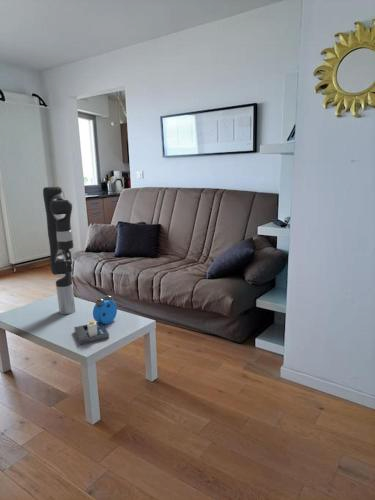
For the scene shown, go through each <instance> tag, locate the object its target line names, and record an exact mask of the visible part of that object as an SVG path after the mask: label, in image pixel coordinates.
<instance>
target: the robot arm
mask: <svg viewBox="0 0 375 500" xmlns="http://www.w3.org/2000/svg"><path fill="white" fill-rule="evenodd" d="M42 195H43V202H44V203H43V204H44V207H45V208H44V209H45V214H46V225H47V234H48V235H47V236H48V237H47V238H48V244H49V250H50V252H49V253H50V254H49V255H50V268H51V273H52V274H53V275H54V276H55V275H64V276H63V277H61V278H58V279H57V280H56V281H55V286H56V295H57V296H56V297H57V303H58V310H59V311H58V312H59V314H61V315H70V314H72V313H74V312H75V311H76V304H75V303H76V302H75V294H74V289H73V287H74V286H73V280H72V279H73V278H72V271H73V269H72V268H73V267H72V264H73V261H72V252H71V251H70V250H72V249H73V248H74V240H73V233H72V226H71V217H72V212H73V203H72V202H71V201H70V200H68V199H65V191H64V190H63V188H62V187H60V186H46V187H44V188H43V190H42ZM58 215H64V217H61V218H59V216H58ZM59 250H60V251H61V255H62V258H58V257H57V256H58V252H59Z"/></svg>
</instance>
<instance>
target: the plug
mask: <svg viewBox="0 0 375 500" xmlns="http://www.w3.org/2000/svg"><path fill="white" fill-rule="evenodd" d="M96 322H97V321H95V320H92V321H88V322H87V323H86V325H87V328H88V337H92V336H96V335H98V332H97V324H96Z"/></svg>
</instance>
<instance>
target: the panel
mask: <svg viewBox="0 0 375 500" xmlns="http://www.w3.org/2000/svg"><path fill="white" fill-rule="evenodd" d="M95 322H96V324H97V332H98V335H96V336H92V337H88V328H87V324H83V325H79V326H75V327H74V334H75V336H76V338H77V340H78V342H79V345H80V346H83V345H88V344H91V343H95V342H96V343H97V342H100V341H104V340H107V339H110V334H109V332H108V330H107V328H106V327H105V325H104V324H103V323H101V322H97V321H95Z"/></svg>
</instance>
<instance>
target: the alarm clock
mask: <svg viewBox="0 0 375 500" xmlns="http://www.w3.org/2000/svg"><path fill="white" fill-rule="evenodd" d="M94 303H95V304H94V306H93V310H92V317H93V319H94V321H95V322H101V323H102V324H103V325H108V324H111V323H112V322H113V321H114V320H115V318H116V317H117V313H118V308H117V307H118V306H117V304H116V302H115V301H114V297H113V296H111V295H110V294H109V295H105V296H104V298H98V299H97V300H96V301H95V302H94Z"/></svg>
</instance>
